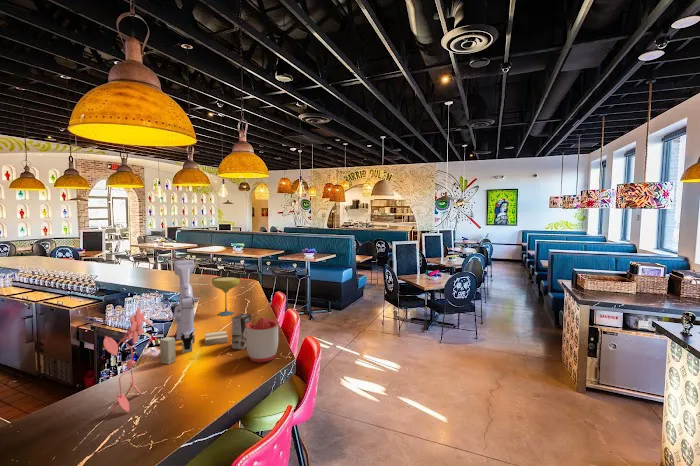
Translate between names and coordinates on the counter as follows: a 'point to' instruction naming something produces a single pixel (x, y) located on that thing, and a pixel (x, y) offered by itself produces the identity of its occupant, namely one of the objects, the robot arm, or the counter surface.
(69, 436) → the counter surface
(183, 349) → the sage cube
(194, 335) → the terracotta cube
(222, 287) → the cocktail glass
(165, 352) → the box
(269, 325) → the citrus juicer
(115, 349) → the pink thin branching piece
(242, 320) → the coffee box
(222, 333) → the maple board
